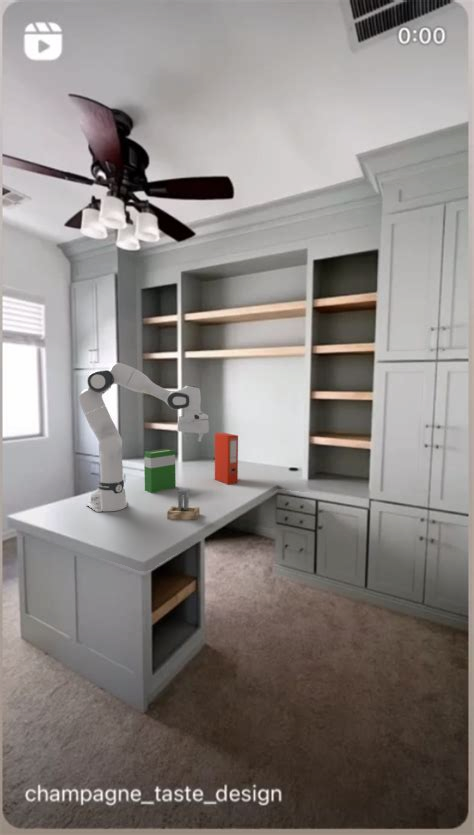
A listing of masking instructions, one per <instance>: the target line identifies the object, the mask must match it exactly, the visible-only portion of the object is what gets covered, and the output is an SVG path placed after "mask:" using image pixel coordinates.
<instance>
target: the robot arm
mask: <svg viewBox="0 0 474 835" xmlns="http://www.w3.org/2000/svg"><path fill="white" fill-rule="evenodd" d="M86 381H87V386H88V387H87V389H84V390H83V391H80V394H79V396H78V399H79V404H80V407H81V409H82V410H81V411H82V412H83V415H84V416H85V418H86V420H87V423H88V425H89V427H90V429H91V431H92V432H93V434H94V435H95V437H96V438H97V441H98V456H99V469H100V470H99V471H100V481H99V482H97V484H98V488H97V489H96V490H95V491H94V492H93V493H92V494H91V496H90V501H89V502H87V503H86V504H85V506H86V505H87V506H89V507H90V508H89V507H88V508H89V509H91V508H92V509H93V511H94V510H95V512H96V513H100V512H102V511H103V512H115V511H121V510H124V509H125V508H126V507H127V506H128V502H129V501H127V495H126V489H125V488H124V487H125V481H124V477H123V476H124V472H123V470H124V467H123V465H124V464H123V438H122V437H121V435H120V432H119V431H118V428H117V427H116V424H115V423H114V421H113V419H112V417H111V414H110V413H109V410H108V408H107V406H106V404H105V401H104V400H103V395H104V394H105V393H106V392H107V391H109V390H110V389H111V388H112V386H113V385H118V386H121V387H124V388H126V389H128V390H130V391H133V392H136V393H141V394H148V395H151V396H152V397H155V398H157V399H159V400H161V401H162V402H164V403H165V404H166V405H167V406H168V407H169V408H170V409H171V410H177V411H178V410H181V409H183V410H184V411H183V412H184V414H180V415H179V416H178V422H177V431H178V432H181V433H182V435H183V437H184V441H189V437H190V436H188V435H187V434H188V433H191V434H193V433H194V434H198V437H197V439H196V440H197V442H202V438H203V437H204V435H205V434H208V433H209V432H210V424H209V422H210V421H209V415H208V414H206V413H204V412H202V409H201V403H202V401H201V400H202V398H201V389H200V388H199V387H198V386H195V385H190V384H189V385H187V384H186V385H185V386H183V387H182V388H180V389H178V390H176V391H175V390H174V391H173V390H172V391H171V390H168V389H167V388H166V389H165V388H164V387H161V386H160V385H158V384H156V383H155V382H153V381H152V380H151V379H150V378H149V377H148V376H147V375H146V374H144V373H143V372H142V371H140V370H139V369H136V368H135V367H133V366H130V365H127V364H125V363H121V362H116V363H114V364H111V366H110V368H109V370H105V369H104V370H95V371H92V372H91V373H90V374H89V375H88V377H87V380H86ZM87 506H86V507H87ZM92 509H91V510H92Z"/></svg>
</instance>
